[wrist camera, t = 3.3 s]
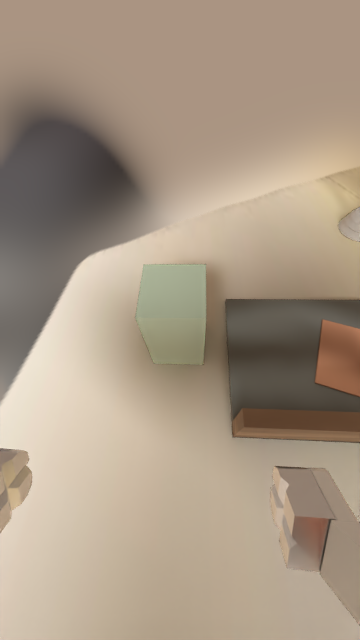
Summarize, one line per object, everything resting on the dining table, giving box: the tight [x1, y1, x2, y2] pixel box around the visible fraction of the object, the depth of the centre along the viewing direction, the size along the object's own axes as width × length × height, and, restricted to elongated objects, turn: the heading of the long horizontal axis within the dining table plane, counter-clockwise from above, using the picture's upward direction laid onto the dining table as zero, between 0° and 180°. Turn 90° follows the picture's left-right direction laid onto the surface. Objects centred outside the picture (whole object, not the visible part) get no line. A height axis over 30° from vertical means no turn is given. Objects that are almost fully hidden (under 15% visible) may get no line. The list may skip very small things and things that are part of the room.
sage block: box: [135, 264, 206, 365], centre depth 23 cm, size 5×5×9 cm
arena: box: [225, 299, 360, 443], centre depth 22 cm, size 14×20×6 cm
